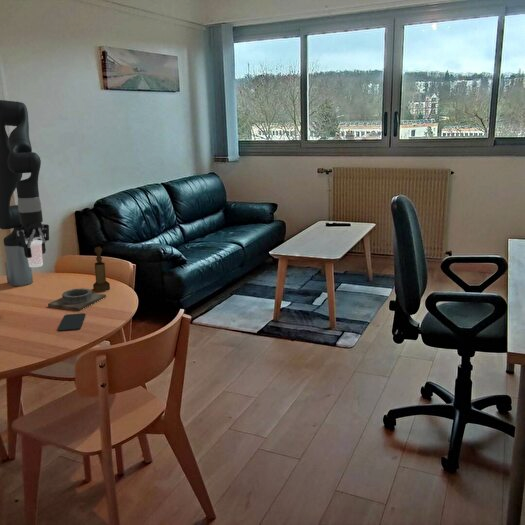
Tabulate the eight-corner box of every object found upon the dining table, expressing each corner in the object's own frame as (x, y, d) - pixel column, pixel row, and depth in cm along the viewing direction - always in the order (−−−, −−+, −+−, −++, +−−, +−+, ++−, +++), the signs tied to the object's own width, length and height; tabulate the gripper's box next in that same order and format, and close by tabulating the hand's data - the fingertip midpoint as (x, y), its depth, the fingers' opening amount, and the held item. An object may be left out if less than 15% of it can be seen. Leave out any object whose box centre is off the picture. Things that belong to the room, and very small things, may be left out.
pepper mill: (107, 292, 211) (103, 248, 207) (91, 292, 212) (87, 248, 207) (112, 287, 218) (108, 244, 213) (96, 287, 218) (92, 244, 213)
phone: (86, 313, 187) (80, 328, 173) (86, 315, 187) (80, 330, 173) (64, 314, 186) (56, 330, 172) (64, 316, 186) (56, 332, 172)
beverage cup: (24, 265, 192) (19, 228, 188) (40, 262, 196) (36, 225, 192) (31, 268, 187) (26, 230, 184) (47, 265, 192) (43, 228, 188)
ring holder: (48, 306, 195) (47, 297, 194) (76, 293, 209) (75, 284, 208) (79, 311, 190) (78, 301, 189) (106, 297, 205) (105, 288, 204)
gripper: (36, 206, 194) (42, 250, 198) (5, 212, 181) (12, 259, 185) (53, 207, 191) (57, 251, 196) (22, 213, 178) (28, 261, 183)
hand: (35, 255), depth 190 cm, fingers closed on beverage cup, 6 cm apart
